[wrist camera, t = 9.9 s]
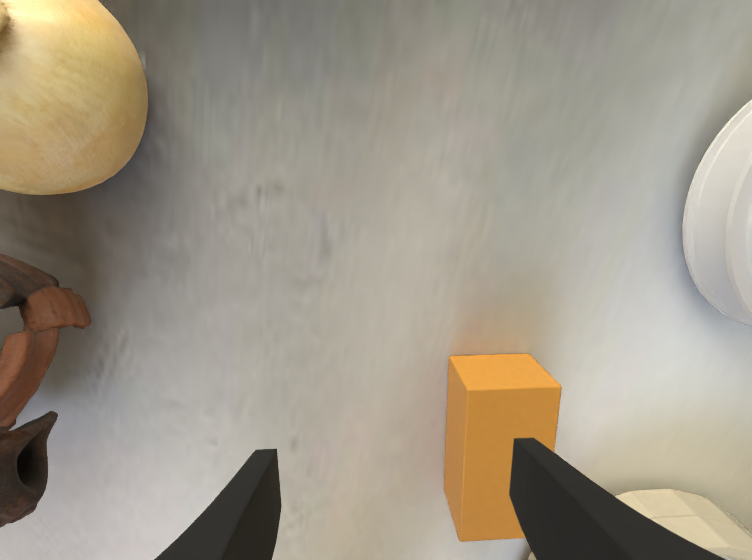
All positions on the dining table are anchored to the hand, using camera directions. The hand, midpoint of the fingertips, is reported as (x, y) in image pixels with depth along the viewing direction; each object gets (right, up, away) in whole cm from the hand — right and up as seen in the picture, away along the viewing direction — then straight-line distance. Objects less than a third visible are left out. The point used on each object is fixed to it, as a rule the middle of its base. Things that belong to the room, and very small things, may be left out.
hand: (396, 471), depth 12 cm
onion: (-14, +14, +6) cm, 20 cm away
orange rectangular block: (+5, -2, +11) cm, 12 cm away
